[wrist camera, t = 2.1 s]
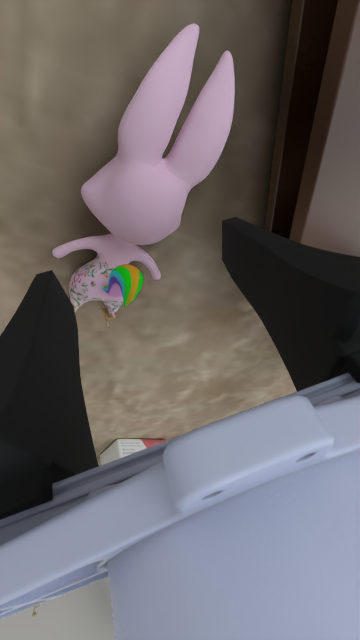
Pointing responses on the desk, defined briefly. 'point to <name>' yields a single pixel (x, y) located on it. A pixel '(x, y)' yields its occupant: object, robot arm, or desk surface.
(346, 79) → the rack
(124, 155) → the rabbit figure
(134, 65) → the desk surface
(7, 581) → the robot arm
